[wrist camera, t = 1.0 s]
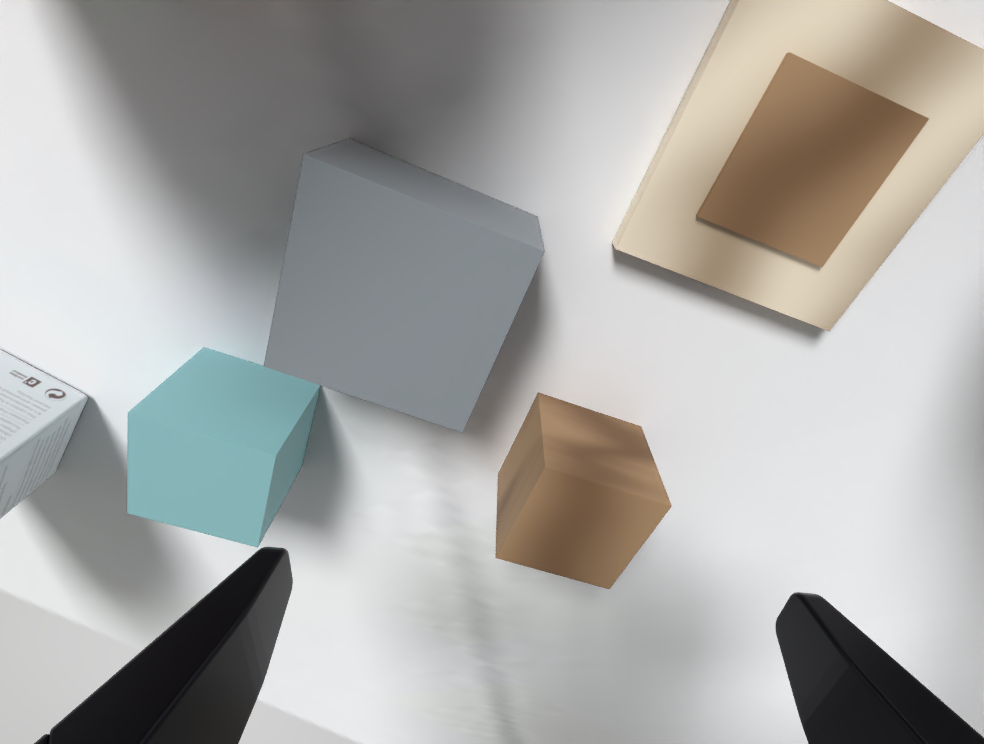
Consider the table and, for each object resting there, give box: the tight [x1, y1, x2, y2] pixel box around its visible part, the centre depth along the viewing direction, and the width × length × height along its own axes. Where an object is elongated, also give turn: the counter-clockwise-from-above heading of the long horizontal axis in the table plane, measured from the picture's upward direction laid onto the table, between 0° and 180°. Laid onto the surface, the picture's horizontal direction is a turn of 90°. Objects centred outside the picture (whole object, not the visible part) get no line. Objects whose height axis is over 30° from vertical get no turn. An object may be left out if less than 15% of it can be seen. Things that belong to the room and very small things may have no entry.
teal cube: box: [127, 347, 321, 547], centre depth 21 cm, size 5×5×5 cm
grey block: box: [264, 138, 545, 432], centre depth 18 cm, size 7×7×4 cm
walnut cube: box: [496, 393, 671, 589], centre depth 21 cm, size 5×5×5 cm
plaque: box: [612, 0, 984, 331], centre depth 17 cm, size 9×9×1 cm
